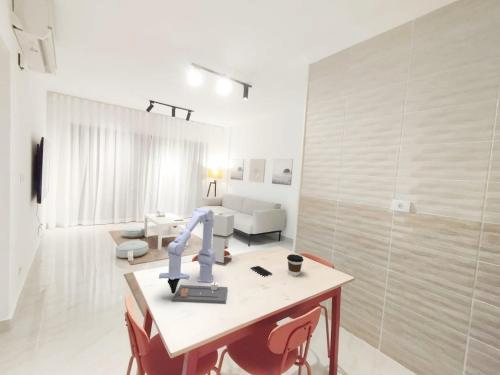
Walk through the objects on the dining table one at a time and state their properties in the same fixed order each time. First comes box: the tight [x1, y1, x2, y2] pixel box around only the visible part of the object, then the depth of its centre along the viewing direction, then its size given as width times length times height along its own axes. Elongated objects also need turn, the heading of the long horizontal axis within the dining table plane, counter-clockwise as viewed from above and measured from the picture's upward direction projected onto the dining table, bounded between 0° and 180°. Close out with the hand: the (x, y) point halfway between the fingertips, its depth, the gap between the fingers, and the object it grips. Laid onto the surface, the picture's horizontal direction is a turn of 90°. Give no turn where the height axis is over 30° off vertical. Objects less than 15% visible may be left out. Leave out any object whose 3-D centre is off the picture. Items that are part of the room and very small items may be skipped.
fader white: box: [210, 281, 219, 290], centre depth 123 cm, size 3×3×3 cm
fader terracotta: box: [181, 288, 188, 297], centre depth 114 cm, size 3×3×3 cm
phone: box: [250, 265, 273, 278], centre depth 153 cm, size 8×1×15 cm
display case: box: [211, 212, 235, 267], centre depth 166 cm, size 11×11×35 cm
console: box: [172, 284, 229, 305], centre depth 119 cm, size 14×26×2 cm, turn 92°
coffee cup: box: [286, 253, 304, 277], centre depth 152 cm, size 11×11×12 cm
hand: (173, 292), depth 114 cm, fingers closed
